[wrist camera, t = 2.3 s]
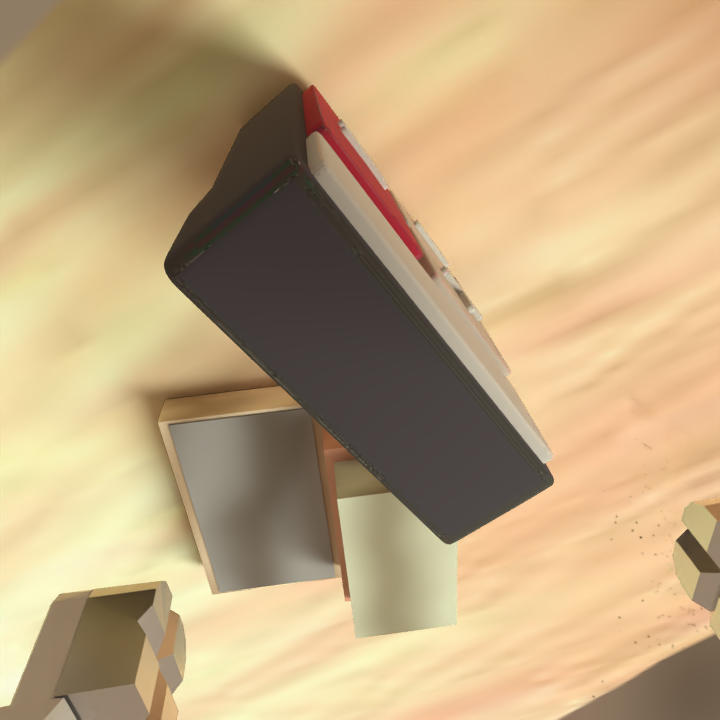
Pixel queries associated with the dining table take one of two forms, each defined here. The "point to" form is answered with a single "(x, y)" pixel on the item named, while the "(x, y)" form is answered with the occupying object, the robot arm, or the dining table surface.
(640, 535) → the dining table surface
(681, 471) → the dining table surface
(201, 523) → the sticky note pad set
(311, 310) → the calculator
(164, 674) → the robot arm
